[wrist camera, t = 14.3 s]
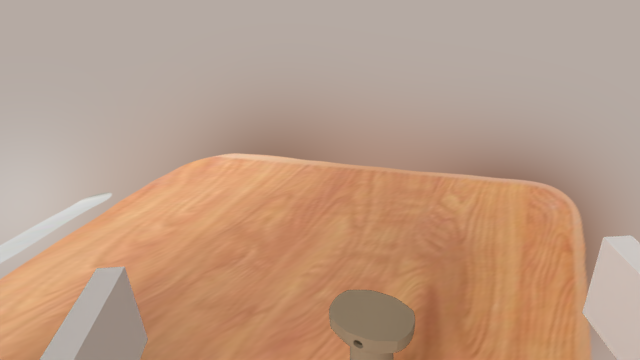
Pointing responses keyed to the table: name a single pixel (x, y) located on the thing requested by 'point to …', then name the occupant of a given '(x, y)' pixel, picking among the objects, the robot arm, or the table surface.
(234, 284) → the table surface
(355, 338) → the handle
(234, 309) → the table surface
